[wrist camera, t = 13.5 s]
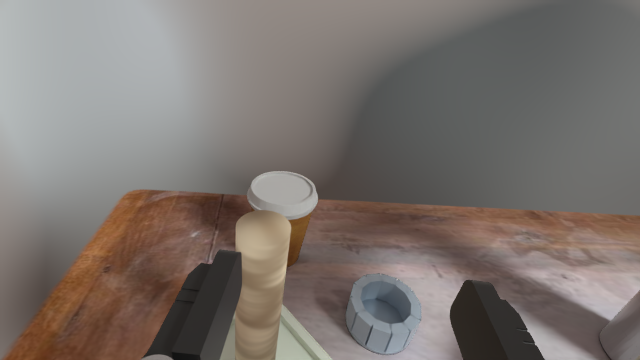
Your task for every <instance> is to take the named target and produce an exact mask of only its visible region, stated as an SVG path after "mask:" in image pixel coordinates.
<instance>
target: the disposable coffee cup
mask: <svg viewBox="0 0 640 360" xmlns="http://www.w3.org/2000/svg"><path fill="white" fill-rule="evenodd" d="M247 198H248V201H249V203H250V205H251V208H252V211H257V210H269V211H274V212H277V213H279V214H281V215H283V216H284V217H286V218H287V219H288V221H289V222H290V224H291V234H290V243H289V251H288V259H287V267H289V266H291V265H293V264H294V263H295V262H296V261H297V259H298V256H299V253H300V249H301V246H302V243H303V240H304V236H305V233H306V230H307V226H308V223H309V220H310V217H311V213H312V210H313V209H314V208H315V206H316V204H317V203H318V195H317V193H316V189H315V185H314V184H313V183H312V182H311V181H310V180H309V179H307V178H306V177H304V176H302V175H299V174H296V173H292V172H286V171H274V172H268V173H264V174H262V175H259V176H258V177H256V178H255V179H254V180H253V181H252V184H251V186H250V188H249V189H248V192H247Z"/></svg>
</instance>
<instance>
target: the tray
mask: <svg viewBox="0 0 640 360" xmlns="http://www.w3.org/2000/svg"><path fill="white" fill-rule="evenodd" d="M220 360H235V313H234V316H233V320H232V323H231V326H230V329H229V332H228V335H227V338H226V341H225V345H224V348H223V351H222V354H221V357H220ZM275 360H333V359H332V358H331V357H330V356H329V355H328V354H327V353H326V352H325V350H324V349H323V348H322V347H321V346H320V345H319V344H318V343H317V342H316V340H315V339H314V338H313V337H312V336H311V335H310V334H309V333H308V332H307V330H306V329H305V328H304V327H303V326H302V325H301V324H300V323H299V322H298V320H297V319H296V318H295V317H294V316H293V315H292V314H291V313H290V312H289V310H288V309H287V308H286V307H285V306H284V305H283V304H282V308H281V317H280V325H279V333H278V341H277V349H276V358H275Z"/></svg>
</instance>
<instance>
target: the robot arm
mask: <svg viewBox="0 0 640 360" xmlns="http://www.w3.org/2000/svg"><path fill="white" fill-rule="evenodd" d="M241 288H242V254H241V252H236V251H228V250H219V251H218V252H217V254H216V256H215V258H214V260H213V263H212V264H204V263H201V264H200V265H198V266H197V267H196V268H195V269H194V270H193V271H192V272H191V273H190V274H189V275H188V277H187V279H186V280H185V282H184V284H183V286H182V288H181V291H180V292H179V294H178V296H177V298H176V299H175V303H173V305H172V307H171V309H170V311H169V313H168V315H167V316H166V318H165V320H164V322H163V324H162V326H161V328H160V330H159V332H158V334H157V335H156V337H155V339H154V341H153V343H152V345H151V347H150V348H149V350H148V352H147V353H146V354H145V355H144V357H143V358H142V359H141V360H220V357H221V354H222V351H223V348H224V345H225V341H226V338H227V335H228V332H229V329H230V326H231V323H232V320H233V316H234V313H235V310H236V307H237V304H238V301H239V297H240V293H241ZM450 321H451V325H452V328H453V331H454V334H455V337H456V340H457V342H458V345H459V348H460V351H461V354H462V357H463V360H545V359H544V358H543V356H542V354H541V352H540V351H539V349H538V347H537V346H536V345H535V344H534V343H535V342H534V340H533V338H532V336H531V335H530V333H529V332H527V328H526V326H525V324H524V322H523V320H522V319H521V317H520V315H519V314H518V313H517V312H516V310H515V309H514V308H513V307H512V306H511V305H510V304H509V303H508V302H507V301H506V300H502V299H500V297H499V296H498V294H497V292H496V290H495V288H494V286H493V285H492V284H491V283H489V282H482V281H473V280H466V281H465V282H464V283H463V285H462V287H461V289H460V291H459V293H458V295H457V296H456V298H455V300H454V302H453V304H452V306H451V309H450ZM600 342H601V344H602V346H603V348H604V350H605V351H606V353H607V355H608V356H609V357H610V358H611V359H612V360H635V359H636V358H637V357H638V356H639V355H640V291H639V292H638V293H637V294H636V295H635V296H634V297H633V298H632V299H631V300H630V301H629V302H628V303H627V304H626V305H625V306H624V308H623V309H622V310H621V311H620V312H619V313H618V314H617V315H616V316H615V317H614V318H613V319H612V320H611V321H610V322H609V323H608V324H607V325H606V326H605V328H604V329H603V330H602V331H601V332H600Z"/></svg>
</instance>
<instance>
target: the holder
mask: <svg viewBox="0 0 640 360" xmlns="http://www.w3.org/2000/svg"><path fill="white" fill-rule="evenodd" d="M420 321H421V304H420V302H419V300H418V298H417V297H416V295H415V293H414V292H413V291H411V288H409V287H408V286H407V285H405V284H404V283H403V282H401V281H400V280H399V279H398V280H397V278H394V277H391V276H388V275H384V274H381V275H380V273H379V274H368V275H366V276H365V275H364V276H363V277H361V278H360V279H358V280H357V281H356V282H354V284H353V287H352V291H351V295H350V299H349V302H348V306H347V310H346V324H347V327H348V330H349V332H350V333H351V335H352V336H353V338H354V339H355V340H356V341H357V342H358V343H359V344H360V345H361V346H363V347H364V348H366V349H367V350H369V351H372V352H374V353H377V354H382V355H392V354H396V353H399V352H401V351H402V350H404V349H405V348H406V347H407V346H408V344H409V342H410V341H411V340H412V339H413V336H414V334H415V332H416V330H417V328H418V326H419V324H420Z"/></svg>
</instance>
